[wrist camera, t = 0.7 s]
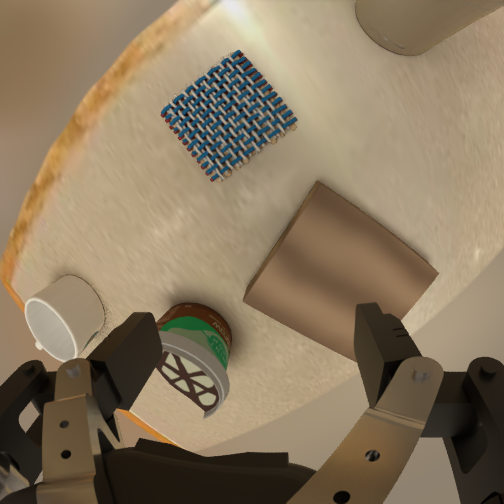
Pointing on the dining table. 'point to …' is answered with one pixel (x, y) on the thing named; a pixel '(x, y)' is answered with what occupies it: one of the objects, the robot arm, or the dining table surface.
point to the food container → (196, 354)
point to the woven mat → (227, 115)
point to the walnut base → (336, 272)
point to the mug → (65, 317)
